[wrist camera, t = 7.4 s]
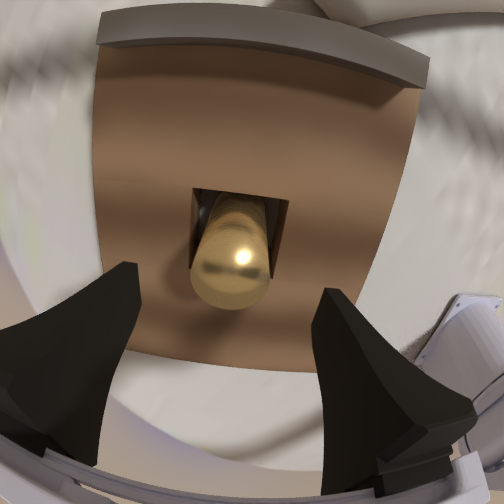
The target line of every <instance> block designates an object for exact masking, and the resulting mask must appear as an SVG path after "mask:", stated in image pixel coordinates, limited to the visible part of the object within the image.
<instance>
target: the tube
mask: <svg viewBox="0 0 504 504" xmlns="http://www.w3.org/2000/svg"><path fill="white" fill-rule="evenodd" d="M313 1H314V2H315V3H316V4H317V5H318V6H319V7H320V8H321V9H322V10H323V11H324V12H325V14H326V15H327V16H328V18H329V19H330V20H332V21H336V22H339V23H343V24H346V25H349V26H353V27H356V28H361V27H365V26H369V25H373V24H378V23H383V22H388V21H393V20H398V19H404V18H410V17H417V16H425V15H434V14H445V13H461V12H500V13H504V0H313Z"/></svg>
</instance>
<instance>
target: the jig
mask: <svg viewBox="0 0 504 504" xmlns="http://www.w3.org/2000/svg"><path fill="white" fill-rule="evenodd" d="M96 44H97V45H100V46H99V53H98V61H97V70H96V79H95V91H94V106H93V180H94V196H95V209H96V219H97V228H98V237H99V244H100V251H101V258H102V264H103V270H104V274H105V273H106V272H108V271H109V270H111V269H112V268H113V267H115V266H116V265H118V264H119V263H121V262H123V261H127V262H133V263H138V273H139V283H140V292H141V300H142V305H141V309H140V312H139V315H138V318H137V321H136V325H135V327H134V329H133V331H132V334H131V336H130V338H129V340H128V343H127V345H126V347H125V349H127V350H131V351H136V352H141V353H146V354H151V355H156V356H161V357H167V358H172V359H178V360H184V361H191V362H197V363H204V364H212V365H219V366H228V367H237V368H247V369H258V370H271V371H286V372H309V373H317V369H316V364H315V359H314V354H313V349H312V337H311V323H312V321H313V318H314V316H315V313H316V310H317V307H318V305H319V302H320V299H321V296H322V294H323V291H324V288H325V287H327V288H337V289H340V290H341V291H342V292H343V293H344V294H345V295H346V297H347V298H348V299H349V300H350V301H351V302H352V303H353V305H354V306H355V303H356V301H357V299H358V297H359V294H360V292H361V290H362V287H363V285H364V282H365V280H366V278H367V275H368V273H369V270H370V268H371V265H372V263H373V260H374V258H375V255H376V252H377V250H378V247H379V244H380V242H381V239H382V236H383V233H384V230H385V228H386V225H387V222H388V219H389V216H390V213H391V210H392V207H393V204H394V200H395V197H396V194H397V191H398V187H399V184H400V181H401V177H402V174H403V170H404V166H405V163H406V159H407V155H408V151H409V147H410V143H411V139H412V135H413V130H414V126H415V121H416V117H417V112H418V107H419V101H420V96H421V90H422V89H425V88H426V82H427V76H428V69H429V61H430V57H428V56H426V55H424V54H421V53H419V52H417V51H415V50H413V49H411V48H409V47H406V46H404V45H402V44H399V43H397V42H394V41H392V40H389V39H387V38H384V37H382V36H379V35H376V34H374V33H371V32H368V31H365V30H362V29H359V28H356V27H353V26H349V25H346V24H343V23H339V22H336V21H332V20H328V19H324V18H320V17H316V16H312V15H307V14H302V13H297V12H292V11H286V10H280V9H274V8H267V7H259V6H250V5H239V4H223V3H173V4H158V5H147V6H138V7H130V8H124V9H117V10H111V11H106V12H102V13H101V18H100V23H99V28H98V34H97V40H96ZM201 188H202V189H210V190H219V191H227V192H235V193H243V194H250V195H258V196H265V197H272V198H279V199H281V202H280V207H279V212H278V217H277V222H276V227H275V233H274V238H273V243H272V248H271V253H270V252H268V258H269V274H270V283H269V287H268V290H267V292H266V294H265V295H264V296H263V297H262V298H261V299H260V300H259V301H258V302H257V303H255V304H253V305H252V306H249V307H246V308H243V309H237V310H228V309H221V308H218V307H215V306H212V305H210V304H209V303H207V302H205V301H204V300H203V299H202V298H200V297H199V295H198V294H197V293H196V292H195V290H194V288H193V286H192V283H191V279H190V272H191V268H192V265H193V262H194V259H195V256H196V253H197V250H198V247H199V244H200V243H198V228H199V212H200V198H201Z"/></svg>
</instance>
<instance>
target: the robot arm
mask: <svg viewBox="0 0 504 504" xmlns="http://www.w3.org/2000/svg"><path fill="white" fill-rule="evenodd" d="M501 301H502V299H501V298H500V297H491V296H477V295H464V294H460V295H458V296H457V297H456V298H455V300H454V301H453V303H452V305H451V307H450V308H449V310H448V312H447V313H446V315H445V317H444V318H443V320H442V321H441V323H440V324H439V326H438V328H437V329H436V331H435V332H434V334H433V335H432V337H431V338H430V340H429V341H428V343H427V344H426V346H425V347H424V348H423V350H422V351H421V353H420V354H419V355H418V357H417V358H416V359H415V361H414V363H415V365H421V366H422V368H423V370H424V372H423V371H421V370H420V369H419V368H417V367H416V366H415V365H413V364H412V363H411V362H410V361H408V360H407V359H406V358H405V357H404V356H402V355H401V354H400V353H399V352H398V351H397V350H396V349H394V348H393V347H392V346H391V345H390V344H389V343H388V342H387V341H386V340H385V339H384V338H383V337H382V336H381V335H380V334H379V333H378V332H377V331H376V329H375V328H374V327H373V326H372V325H371V324H370V323H369V322H368V321H367V320H366V318H365V317H364V316H363V315H362V314H361V313H360V312H359V310H358V309H357V308H356V307H355V306H354V305H353V303H352V302H351V301H350V300H349V299H348V298H347V297H346V295H345V294H344V293H343V292H342V291H341V290H340V289H337V288H327V287H325V288H324V291H323V294H322V296H321V299H320V302H319V305H318V307H317V310H316V313H315V316H314V318H313V321H312V323H311V337H312V349H313V354H314V359H315V364H316V369H317V375H318V380H319V385H320V390H321V396H322V403H323V420H324V462H323V477H322V487H321V496H313V497H299V498H238V497H223V496H213V495H204V494H197V493H191V492H184V491H178V490H172V489H168V488H163V487H158V486H154V485H149V484H145V483H141V482H137V481H133V480H130V479H127V478H123V477H120V476H116V475H113V474H110V473H107V472H104V471H101V470H98V469H96V468H93V466H95V465H97V457H98V447H99V438H100V431H101V426H102V420H103V415H104V410H105V406H106V401H107V397H108V393H109V389H110V386H111V382H112V379H113V376H114V373H115V370H116V368H117V365H118V363H119V361H120V358H121V356H122V354H123V352H124V349H125V347H126V345H127V343H128V340H129V338H130V336H131V334H132V331H133V329H134V327H135V325H136V321H137V318H138V315H139V312H140V309H141V305H142V300H141V292H140V283H139V273H138V263H133V262H127V261H123V262H121V263H119V264H118V265H116V266H115V267H113V268H112V269H111V270H109V271H108V272H106V273H105V274H103V275H102V276H101V277H99V278H98V279H96V280H95V281H93V282H92V283H91V284H89V285H88V286H86V287H85V288H83V289H82V290H80V291H79V292H77V293H76V294H74V295H72V296H71V297H69V298H68V299H66V300H65V301H63V302H61V303H60V304H58V305H56V306H54V307H53V308H51V309H49V310H47V311H45V312H43V313H41V314H39V315H37V316H34V317H32V318H30V319H28V320H26V321H23V322H21V323H19V324H16V325H13V326H11V327H8V328H5V329H2V330H0V497H2V498H3V499H4V500H6V501H7V502H8V503H9V504H117V503H115V502H113V501H111V500H110V499H109V498H107V497H104V496H102V495H99V494H97V493H94V492H92V491H89V490H87V489H85V488H83V487H82V486H81V485H80V483H81V484H84V485H87V486H89V487H91V488H94V489H97V490H100V491H102V492H106V493H108V494H111V495H114V496H118V497H121V498H124V499H128V500H131V501H134V502H138V503H142V504H485V503H487V502H488V501H489V500H490V494H489V490H497V491H504V461H502V460H503V459H504V325H503V324H502V322H501V321H500V320H499V318H498V317H497V315H496V314H495V312H496V310H497V308H498V307H499V305H500V304H501ZM457 440H458V447H459V451H460V454H461V457H458V458H456V459H454V460H452V461H450V458H449V455H451V454H453V449H452V446H451V445H452V444H453V443H455V442H456V441H457ZM78 482H79V483H78Z"/></svg>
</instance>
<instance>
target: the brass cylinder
mask: <svg viewBox="0 0 504 504" xmlns="http://www.w3.org/2000/svg"><path fill="white" fill-rule="evenodd" d="M190 279H191V283H192V286H193V288H194V290H195V292H196V293H197V294H198V295H199V297H200V298H202V299H203V300H204V301H205V302H207V303H209V304H210V305H212V306H215V307H218V308H221V309H228V310H237V309H243V308H246V307H249V306H252V305H253V304H255V303H257V302H258V301H259V300H260V299H261V298H262V297H263V296H264V295H265V294H266V292H267V290H268V287H269V283H270V274H269V258H268V244H267V229H266V215H265V206H264V203H263V201H262V199H261V198H260V197H259V196H258V195H250V194H243V193H235V192H227V191H223V192H222V193H221V194H220V195H219V196H218V197H217V199H216V200H215V202H214V205H213V208H212V210H211V213H210V216H209V219H208V222H207V224H206V227H205V230H204V233H203V236H202V238H201V241H200V244H199V247H198V250H197V253H196V256H195V259H194V262H193V265H192V268H191V272H190Z"/></svg>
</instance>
